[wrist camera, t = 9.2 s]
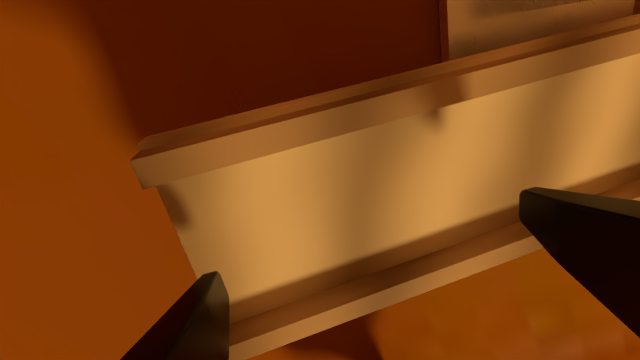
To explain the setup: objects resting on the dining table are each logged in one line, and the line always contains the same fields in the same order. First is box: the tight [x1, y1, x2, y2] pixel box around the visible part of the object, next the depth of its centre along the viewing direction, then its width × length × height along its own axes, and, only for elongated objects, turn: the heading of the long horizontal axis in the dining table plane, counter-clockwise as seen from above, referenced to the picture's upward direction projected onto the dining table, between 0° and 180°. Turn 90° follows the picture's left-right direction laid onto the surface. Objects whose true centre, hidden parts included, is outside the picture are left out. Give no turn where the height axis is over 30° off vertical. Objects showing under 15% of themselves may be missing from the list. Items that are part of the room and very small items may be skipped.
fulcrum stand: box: [438, 0, 635, 63], centre depth 16 cm, size 10×16×5 cm, turn 12°
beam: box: [130, 14, 640, 360], centre depth 13 cm, size 28×8×2 cm, turn 102°
